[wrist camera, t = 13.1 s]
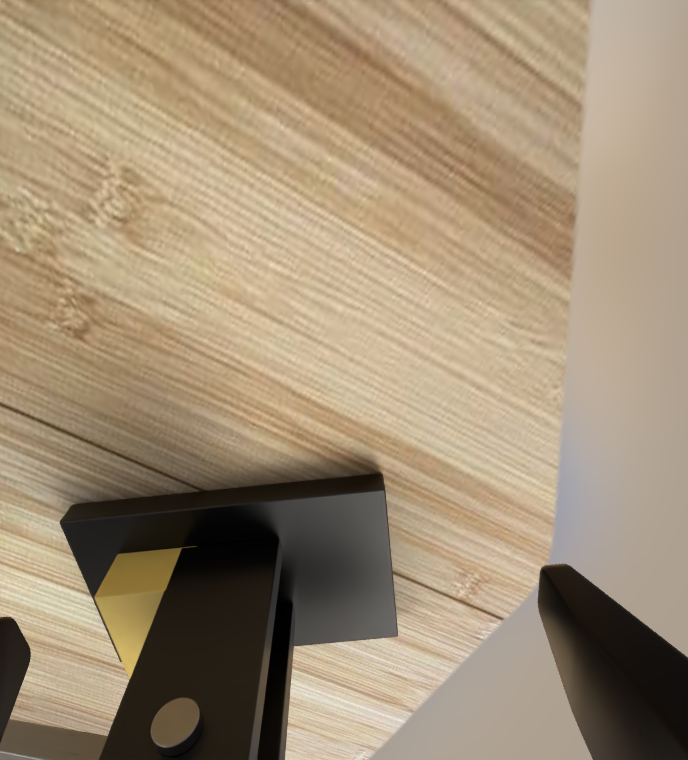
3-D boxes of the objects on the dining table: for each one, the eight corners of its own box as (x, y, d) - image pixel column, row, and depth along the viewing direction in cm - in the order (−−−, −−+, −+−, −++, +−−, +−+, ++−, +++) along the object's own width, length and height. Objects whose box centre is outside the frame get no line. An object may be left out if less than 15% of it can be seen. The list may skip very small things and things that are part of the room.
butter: (117, 553, 22) (93, 597, 19) (197, 545, 22) (182, 588, 19) (148, 631, 24) (129, 679, 22) (221, 625, 24) (210, 672, 21)
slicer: (129, 641, 26) (3, 941, 16) (71, 504, 22) (-140, 783, 12) (395, 616, 25) (435, 906, 16) (382, 472, 22) (424, 733, 12)
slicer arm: (-29, 735, 20) (-85, 804, 18) (-91, 644, 18) (-164, 711, 16) (267, 791, 17) (241, 881, 15) (237, 691, 15) (202, 780, 13)
